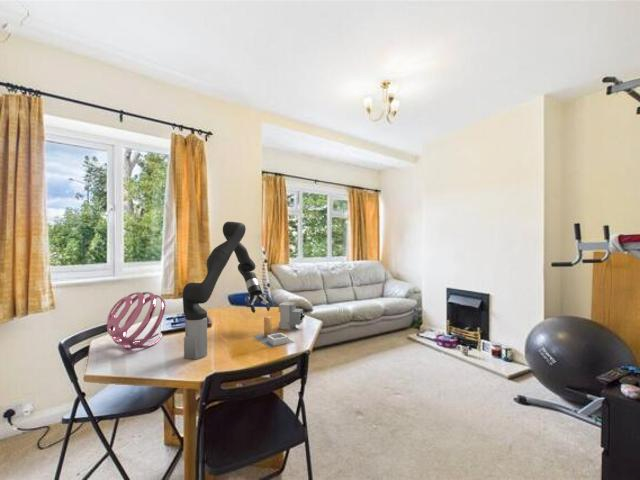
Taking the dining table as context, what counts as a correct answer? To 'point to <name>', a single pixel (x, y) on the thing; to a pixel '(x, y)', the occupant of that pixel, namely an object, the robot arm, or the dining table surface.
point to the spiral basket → (121, 333)
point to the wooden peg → (267, 326)
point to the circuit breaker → (290, 315)
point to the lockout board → (273, 339)
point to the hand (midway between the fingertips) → (261, 311)
